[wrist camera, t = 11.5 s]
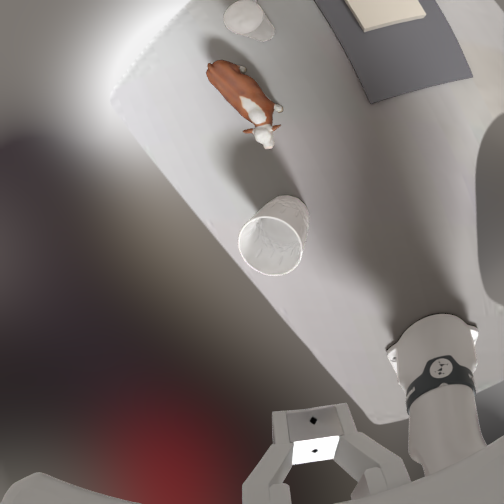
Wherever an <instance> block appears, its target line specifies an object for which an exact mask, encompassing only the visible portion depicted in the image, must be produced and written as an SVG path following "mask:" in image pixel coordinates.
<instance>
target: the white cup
mask: <svg viewBox="0 0 504 504" xmlns="http://www.w3.org/2000/svg"><path fill="white" fill-rule="evenodd" d="M309 218H310V215H309V212H308V210H307V207H306V205H305V204H304V203H303V202H301V201H300V200H299V199H298V198H296V197H293V196H290V195H283V196H277V197H276V198H274V199H273V200H271V201H270V202H269V203H267V204H266V205H265V206H263V207H262V208H261V209H260V210H259V211H258V212H257V213H256V214H255V215H254V216H253V217H252V218H251V219H250V220H249V221H247V222H246V223H245V224H244V226H243V227H242V228H241V230H240V232H239V236H238V248H239V251H240V254H241V256H242V258H243V259H244V261H245V262H246V263H247V264H248V265H249V266H250V267H251V268H253V269H254V270H256V271H257V272H259V273H262V274H265V275H270V276H280V275H284V274H287V273H289V272H291V271H292V270H293V269H295V268H296V267H297V265H298V264H299V262H300V260H301V258H302V254H303V250H304V246H305V242H306V238H307V233H308V228H309Z"/></svg>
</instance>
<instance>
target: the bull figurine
mask: <svg viewBox="0 0 504 504" xmlns="http://www.w3.org/2000/svg"><path fill="white" fill-rule="evenodd" d="M207 66H208V70H207V72H206V74H207V77H208V79H209V81H210V83H211V84H212V85H214V87H215V88H216V89H217V90H219V92H220V93H221V94H222V95H223V96H224V98H225V99H226V100H227V101H228V102H229V103H230V104H231V105H232V106H233V107H234V108H235V109H236V110H237V111H238V112H239V113H240V114H241V115H242V116H243V117H244V118H245V119H247V120H248V121H250V122H251V123H253V124H254V125H255V128H254V129H247V130H244V131H243V132H244V133H252V134H254V136H255V139H256V141H257V142H259V143H261V144H263V146H264V148H265V149H271V148H272V147H273V146H274V140H273V131H275V130H276V129H277V128H278V127H280V126H281V125H275V126H272V123H273V122H272V121H273V117H272V114H273V112H274V109H275V110H276V111H277V112H279V113H280V112H283V107H282V106H280V105H279V104H275V103H273V102H272V101H271V100H269V99H268V98H267V97H266V96H265V94H264V93H263V91H262V90H261V88H260V87H259V85H258V84H257V82H256V81H255V80H254V79H253V78H251V77H249V76H248V75H245V74H242V73H245V72H246V71H247V69H246V68H245V67H244V66H240V65H236V64H233V63H231V62H228V61H224V60H217V61H216V62H214V63H213V64H211V63H208V65H207ZM241 72H242V73H241Z"/></svg>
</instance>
